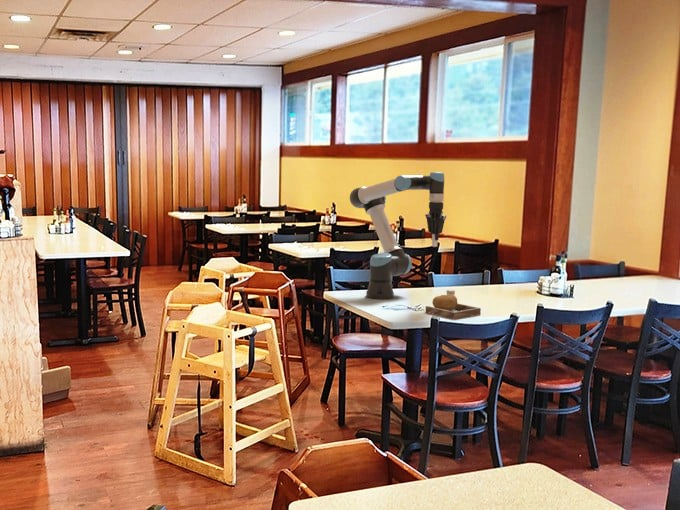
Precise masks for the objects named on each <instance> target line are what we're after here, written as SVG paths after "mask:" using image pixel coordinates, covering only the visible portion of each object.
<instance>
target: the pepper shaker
mask: <svg viewBox="0 0 680 510" xmlns="http://www.w3.org/2000/svg"><path fill="white" fill-rule="evenodd" d="M446 295H454V296H455V297H456V291H455V290H454V289H447V290H446Z"/></svg>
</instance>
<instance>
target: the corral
mask: <svg viewBox="0 0 680 510" xmlns="http://www.w3.org/2000/svg"><path fill="white" fill-rule="evenodd" d="M456 309H458V310H457V311H451V310H449V311H448V310H443V309H439V308H435V307H434V306H430V305H429V306H428V305H426V306H425V311H426V312H425V313H427V312H430V313H429V314H431V313H434V314H433V315H435V314H438V315H437V316H439V315H441V316H440V317H444V318H448V317H449V318H448V319H452V318H454V319H453V320H456V319H461V318H467V316H468V317H472V316H471V315H473V316H477V315H476V314H479V315H481V311H482V310H481V309H482V308H481V307H477V306H472V305H467V304H463V303H459V302H457V306H456V307H455V308H454V309H453V310H456ZM461 310H462V311H461Z"/></svg>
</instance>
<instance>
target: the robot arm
mask: <svg viewBox="0 0 680 510" xmlns="http://www.w3.org/2000/svg"><path fill="white" fill-rule="evenodd" d="M445 181H446V180H445V173H444V172H441V171H431V172H429V175H421V174H417V175H416V174H415V175H414V174H413V175H411V174H409V175H407V174H402V175H401V174H400V175H398V176H396V178H393V179H390V180H386V181H383V182H379V183H378V184H377V183H376V184H373V185H371V186H361V187H356V188H354V189H353V190H352V191H351V192H350V194H349V201H350V204H351V205H352V206H353V207H355V208H357V209H364V211H365V213H366V215H368V216H369V217H370V219H371V221H372V224H373V226H374V230H375V232H376V234H377V236H378V239H379V241H380V245H381V247H382V250H383V252H381V253H380V252H379V253H375V254H373V255H371V256H370V260H369V283H368V287H367V290H366V293H365V296H366V297H367V298H369V299H375V300H376V299H377V300H388V299H393V298H395V293H394V290H393V285H392V277H398V276H404V275H406V274H408V273H409V272H410V271H411V268H412V265H413V263H412V258H411V256H410V255H409V254H407V253H405V252H404V249H403V247H399V244H398V242H397V239H396V237H395V235H394V234H395V233H394V232H393V230H392V227H391V224H390V222H389V219H388V217H387V214H386V212H385V208H386V202H387V201H386V200H387V196H390V195H394V194H398V193H401V192H404V191H410V190H411V191H414V190H415V191H416V190H417V191H420V190H422V191H423V190H424V191H429V197H428V200H429V202H428V209H429V211H428V213H427V214H425V215H424V216H425V218H426V224H427V230H428V231H427V232H428V233H430V237H431V238H430V239H431V247H433V248H436V247H438V241H439V235H440V234H443V233H442V232H443V229H444V224H445V220H446V219H447V215H445V214H444V212H443V210H444V198H445V197H444V196H445V195H444V194H445V191H444V190H445Z"/></svg>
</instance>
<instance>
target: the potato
mask: <svg viewBox="0 0 680 510" xmlns="http://www.w3.org/2000/svg"><path fill="white" fill-rule="evenodd" d="M457 298H458V297H456V295H455V296H454V295H447V294H441V295H438V296H434V298H433V299H432V307H434V308H439V309H443V310H448V311H451V310H455V309H454V308H455V307H456V306H457V303H458V299H457Z"/></svg>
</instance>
